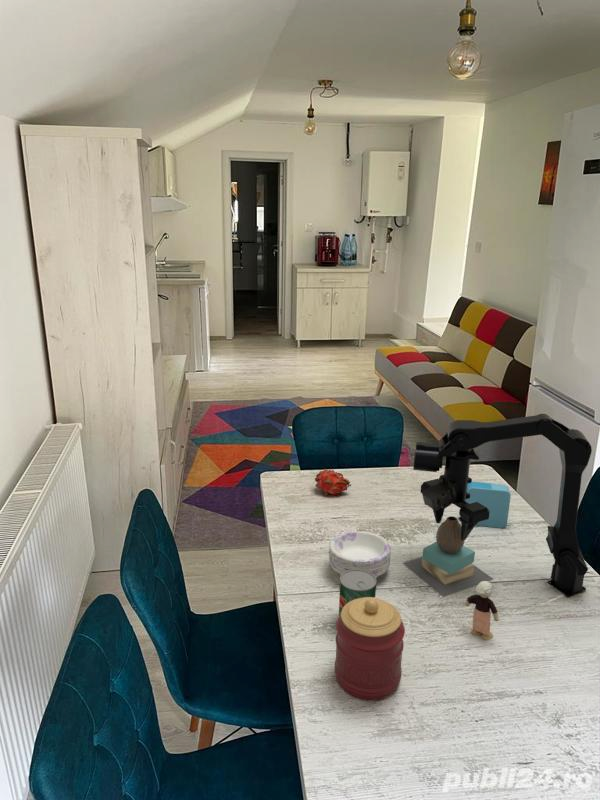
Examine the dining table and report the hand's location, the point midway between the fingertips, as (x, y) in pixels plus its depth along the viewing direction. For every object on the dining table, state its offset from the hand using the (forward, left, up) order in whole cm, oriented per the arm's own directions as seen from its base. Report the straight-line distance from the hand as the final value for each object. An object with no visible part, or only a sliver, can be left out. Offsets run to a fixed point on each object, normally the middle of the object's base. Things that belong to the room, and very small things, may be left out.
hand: (450, 531), depth 150 cm
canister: (-21, +38, -12) cm, 45 cm away
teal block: (0, 0, -8) cm, 8 cm away
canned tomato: (-6, +31, -12) cm, 34 cm away
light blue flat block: (+15, -27, -12) cm, 33 cm away
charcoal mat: (0, 0, -12) cm, 12 cm away
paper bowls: (+10, +20, -12) cm, 25 cm away
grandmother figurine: (-21, +9, -12) cm, 26 cm away
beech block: (0, 0, -11) cm, 11 cm away
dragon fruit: (+52, +3, -12) cm, 53 cm away
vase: (0, 0, -5) cm, 5 cm away
